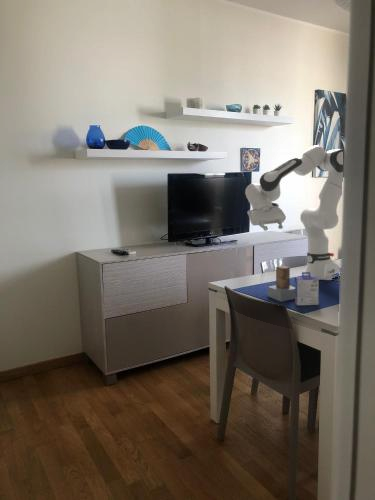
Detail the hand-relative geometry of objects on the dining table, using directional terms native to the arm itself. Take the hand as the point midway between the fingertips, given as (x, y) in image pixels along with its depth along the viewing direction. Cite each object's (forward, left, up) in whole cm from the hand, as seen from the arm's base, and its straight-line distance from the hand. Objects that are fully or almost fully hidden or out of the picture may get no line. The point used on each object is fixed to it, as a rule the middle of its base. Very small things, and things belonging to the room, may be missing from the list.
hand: (273, 229), depth 211 cm
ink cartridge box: (+4, +30, -31) cm, 43 cm away
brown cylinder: (+7, +16, -26) cm, 32 cm away
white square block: (+7, +16, -31) cm, 36 cm away
